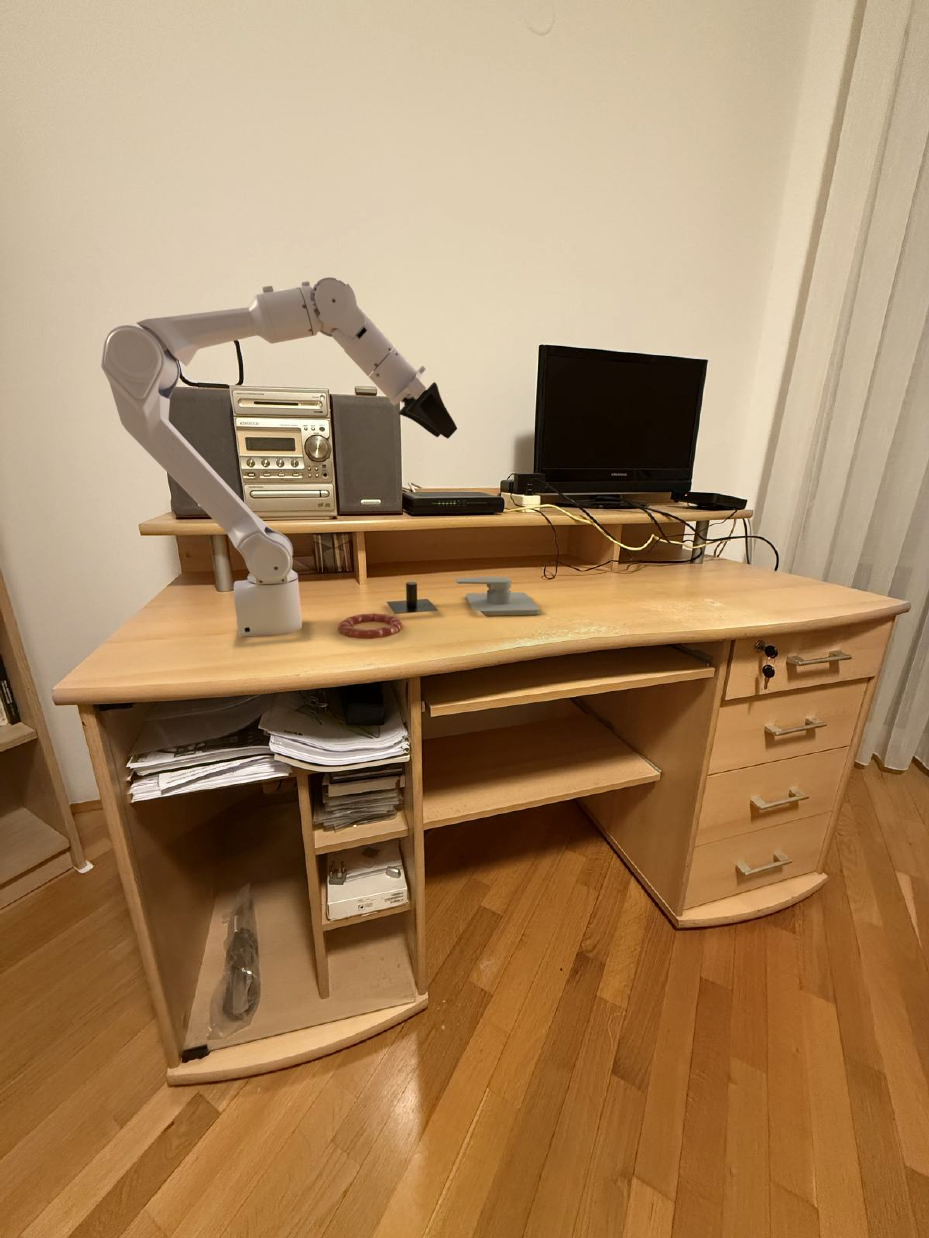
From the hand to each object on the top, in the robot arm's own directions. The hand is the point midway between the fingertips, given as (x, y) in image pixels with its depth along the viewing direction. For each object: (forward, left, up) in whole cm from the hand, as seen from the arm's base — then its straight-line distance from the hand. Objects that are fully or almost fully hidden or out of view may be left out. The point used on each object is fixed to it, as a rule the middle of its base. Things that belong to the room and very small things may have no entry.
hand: (446, 433), depth 77 cm
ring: (-14, -4, -30) cm, 33 cm away
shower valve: (+11, +5, -31) cm, 33 cm away
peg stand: (-5, +6, -31) cm, 32 cm away
